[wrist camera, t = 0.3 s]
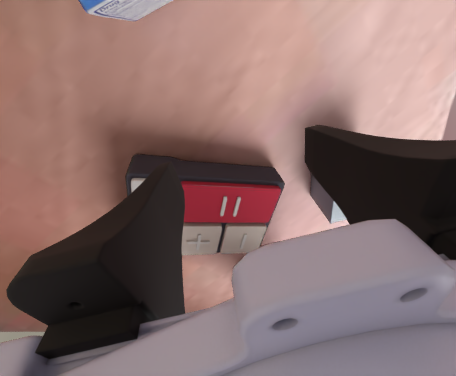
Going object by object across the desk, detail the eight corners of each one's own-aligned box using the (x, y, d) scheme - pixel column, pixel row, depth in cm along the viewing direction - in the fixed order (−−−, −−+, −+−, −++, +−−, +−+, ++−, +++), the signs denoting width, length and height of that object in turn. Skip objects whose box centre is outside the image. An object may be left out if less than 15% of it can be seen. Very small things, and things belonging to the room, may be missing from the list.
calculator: (260, 256, 27) (132, 261, 23) (251, 231, 30) (138, 232, 27) (289, 186, 21) (122, 177, 17) (274, 164, 24) (132, 153, 21)
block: (349, 186, 27) (376, 213, 23) (310, 195, 27) (330, 223, 23) (357, 143, 23) (390, 165, 19) (312, 153, 23) (336, 178, 19)
